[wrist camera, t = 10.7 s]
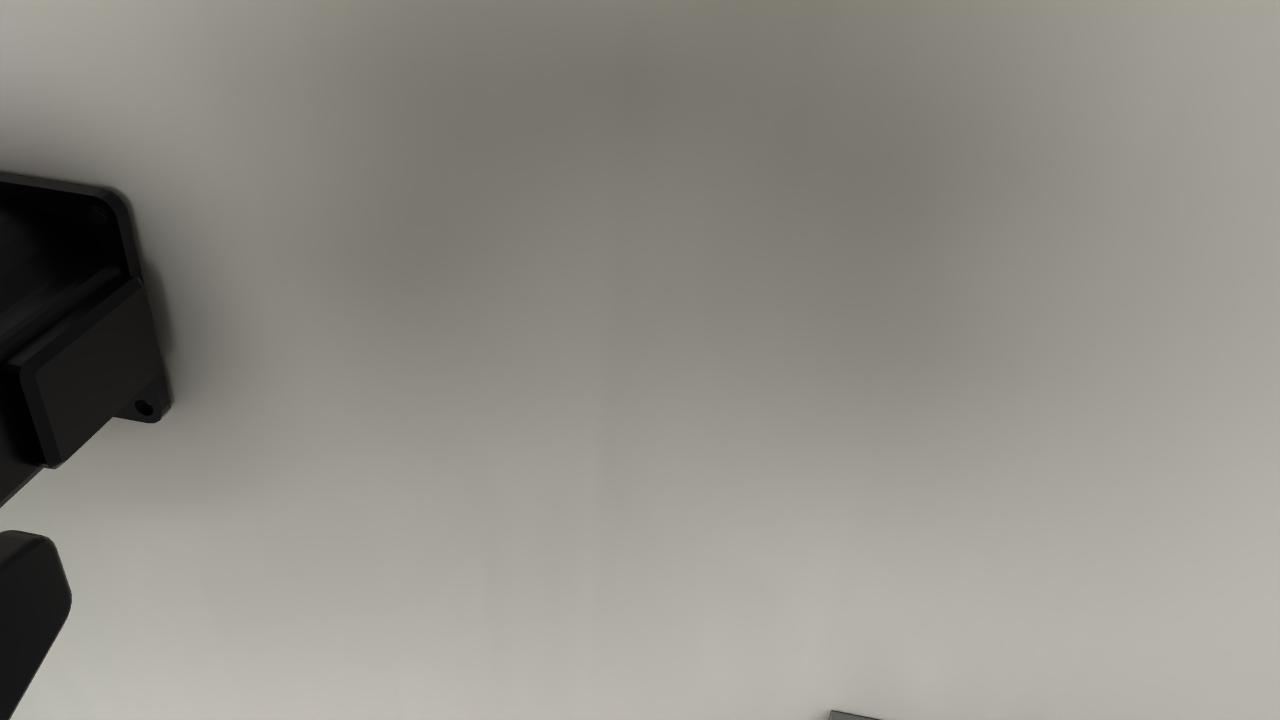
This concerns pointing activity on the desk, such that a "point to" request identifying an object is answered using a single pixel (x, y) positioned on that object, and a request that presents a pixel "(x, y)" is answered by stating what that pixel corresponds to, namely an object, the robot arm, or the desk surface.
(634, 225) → the desk surface
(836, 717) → the tray
